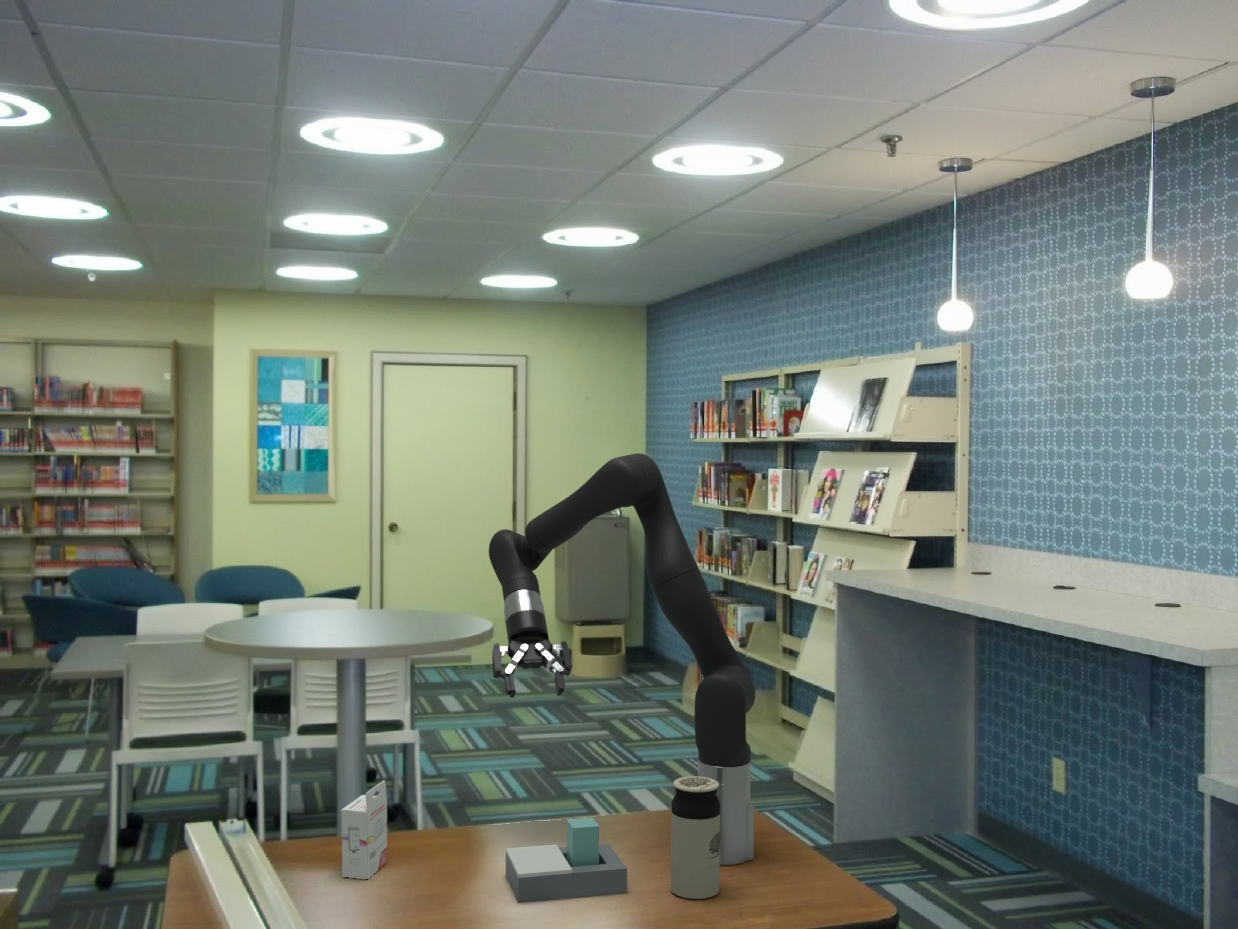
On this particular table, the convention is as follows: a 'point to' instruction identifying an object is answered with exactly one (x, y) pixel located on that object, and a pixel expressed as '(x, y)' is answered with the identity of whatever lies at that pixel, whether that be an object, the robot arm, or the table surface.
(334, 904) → the table surface
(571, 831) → the teal peg
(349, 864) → the ink cartridge box
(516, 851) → the rail
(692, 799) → the travel mug
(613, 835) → the table surface
